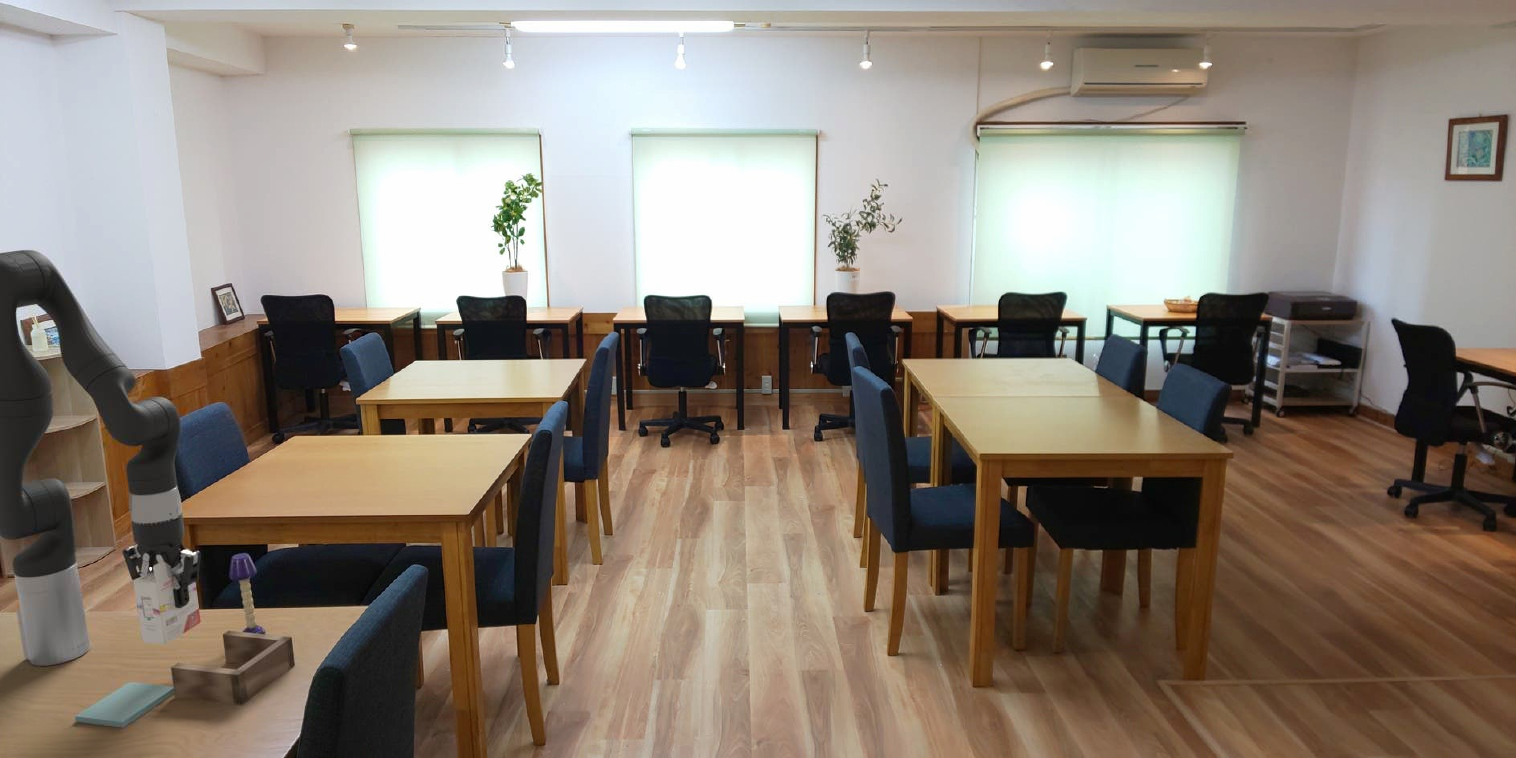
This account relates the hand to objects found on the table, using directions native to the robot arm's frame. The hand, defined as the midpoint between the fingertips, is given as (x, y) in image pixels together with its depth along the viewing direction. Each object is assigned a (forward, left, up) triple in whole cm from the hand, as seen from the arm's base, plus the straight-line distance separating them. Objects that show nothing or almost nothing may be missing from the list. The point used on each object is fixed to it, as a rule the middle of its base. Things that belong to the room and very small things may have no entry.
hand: (168, 604), depth 170 cm
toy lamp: (+3, +15, -13) cm, 20 cm away
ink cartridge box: (0, 0, -6) cm, 6 cm away
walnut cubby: (+12, 0, -13) cm, 18 cm away
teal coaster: (0, -11, -13) cm, 17 cm away
